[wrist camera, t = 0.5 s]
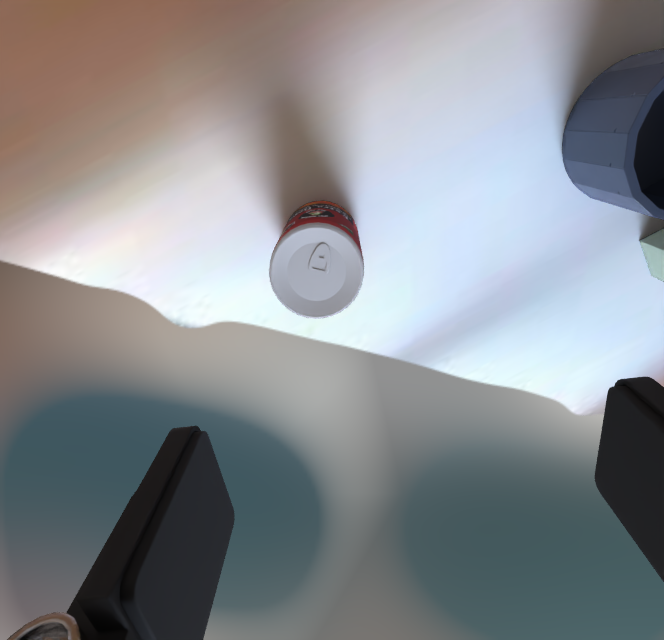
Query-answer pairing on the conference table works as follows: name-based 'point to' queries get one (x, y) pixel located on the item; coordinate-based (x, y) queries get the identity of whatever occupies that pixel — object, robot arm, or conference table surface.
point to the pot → (620, 136)
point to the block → (655, 253)
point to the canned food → (317, 261)
